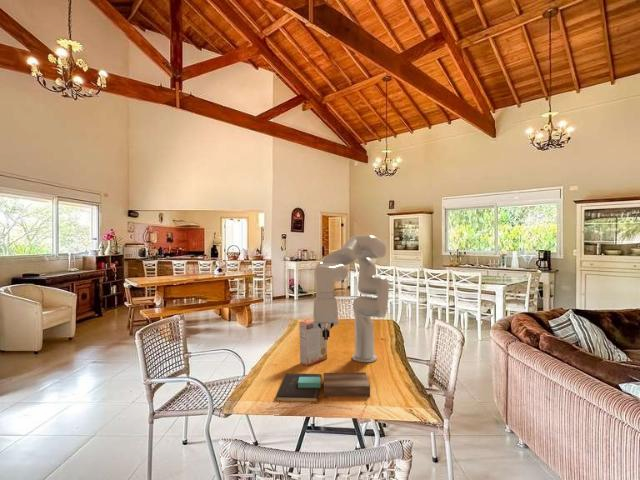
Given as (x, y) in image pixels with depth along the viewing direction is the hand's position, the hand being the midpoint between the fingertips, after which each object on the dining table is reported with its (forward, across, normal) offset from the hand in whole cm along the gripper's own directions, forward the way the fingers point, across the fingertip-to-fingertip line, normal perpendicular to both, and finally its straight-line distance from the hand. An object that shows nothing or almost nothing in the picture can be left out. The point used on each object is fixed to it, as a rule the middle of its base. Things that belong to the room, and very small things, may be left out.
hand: (326, 338), depth 147 cm
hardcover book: (+21, +11, +2) cm, 24 cm away
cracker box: (+21, +7, -30) cm, 37 cm away
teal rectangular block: (+18, +7, +2) cm, 20 cm away
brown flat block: (+20, -8, +3) cm, 22 cm away
